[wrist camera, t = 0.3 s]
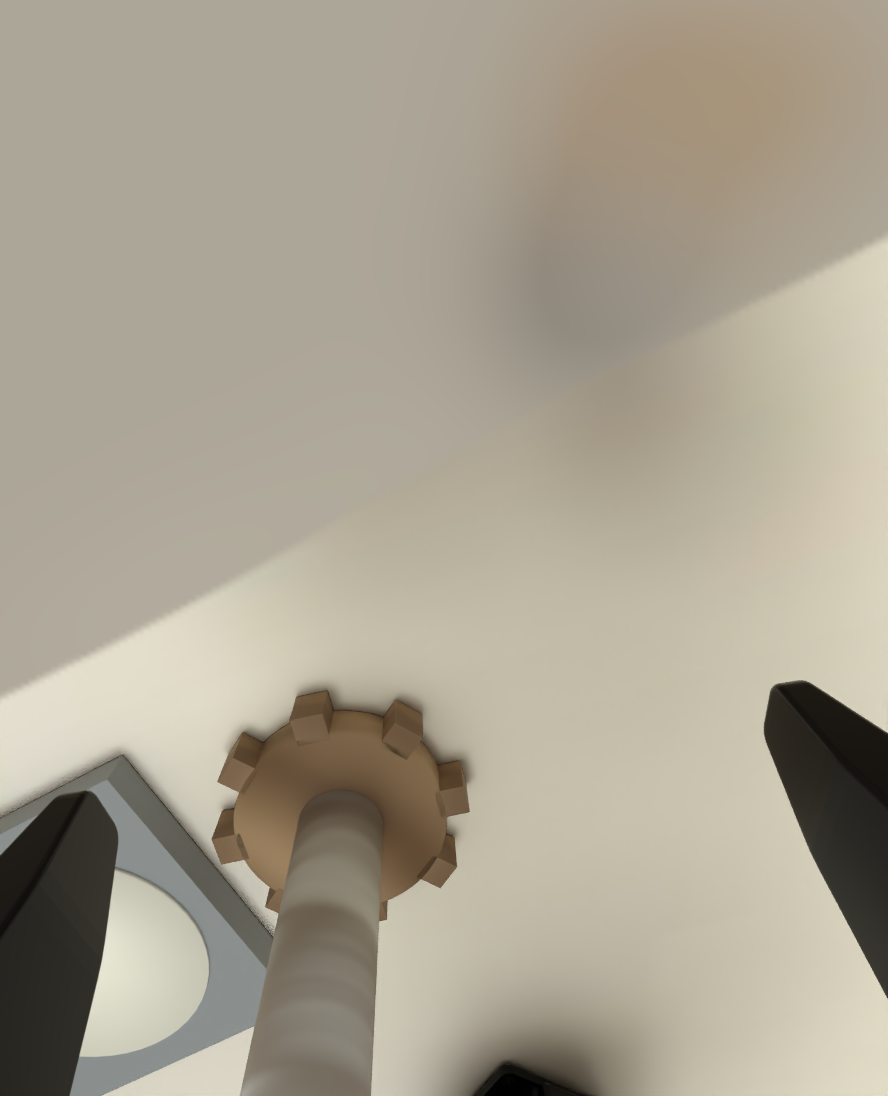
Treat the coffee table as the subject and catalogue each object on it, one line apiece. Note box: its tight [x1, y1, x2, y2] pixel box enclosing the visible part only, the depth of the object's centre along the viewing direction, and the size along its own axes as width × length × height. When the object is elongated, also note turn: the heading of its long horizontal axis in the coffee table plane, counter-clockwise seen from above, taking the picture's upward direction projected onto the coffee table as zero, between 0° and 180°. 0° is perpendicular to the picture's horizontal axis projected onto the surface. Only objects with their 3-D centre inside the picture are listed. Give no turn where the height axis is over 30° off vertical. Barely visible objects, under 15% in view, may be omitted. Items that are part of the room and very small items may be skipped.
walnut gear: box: [212, 691, 470, 1096], centre depth 23 cm, size 10×10×12 cm
